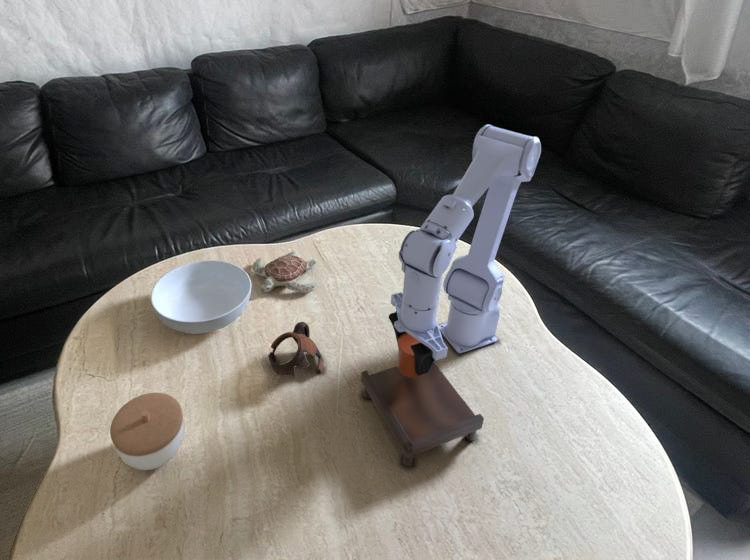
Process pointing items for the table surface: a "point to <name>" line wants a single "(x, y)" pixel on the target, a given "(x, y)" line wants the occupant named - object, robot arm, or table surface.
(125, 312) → the table surface
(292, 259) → the decorative turtle
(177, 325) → the serving bowl
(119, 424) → the trinket box
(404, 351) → the terracotta pot
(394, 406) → the footed tray
